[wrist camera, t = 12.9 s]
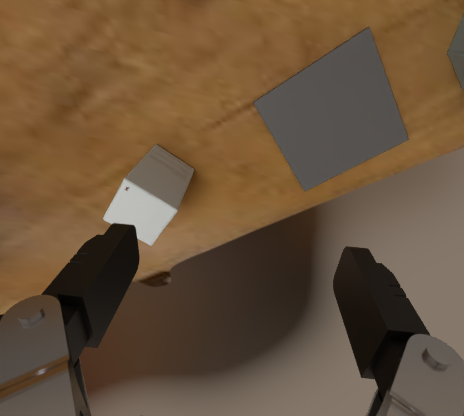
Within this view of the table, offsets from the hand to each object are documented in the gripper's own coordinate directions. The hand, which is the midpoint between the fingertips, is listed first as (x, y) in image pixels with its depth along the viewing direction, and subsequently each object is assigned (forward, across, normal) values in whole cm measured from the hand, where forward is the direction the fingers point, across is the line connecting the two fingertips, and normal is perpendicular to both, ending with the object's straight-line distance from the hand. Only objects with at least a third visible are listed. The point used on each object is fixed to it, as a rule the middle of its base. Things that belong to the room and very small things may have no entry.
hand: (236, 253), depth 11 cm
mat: (+33, -12, +2) cm, 35 cm away
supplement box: (+33, +12, +12) cm, 37 cm away
